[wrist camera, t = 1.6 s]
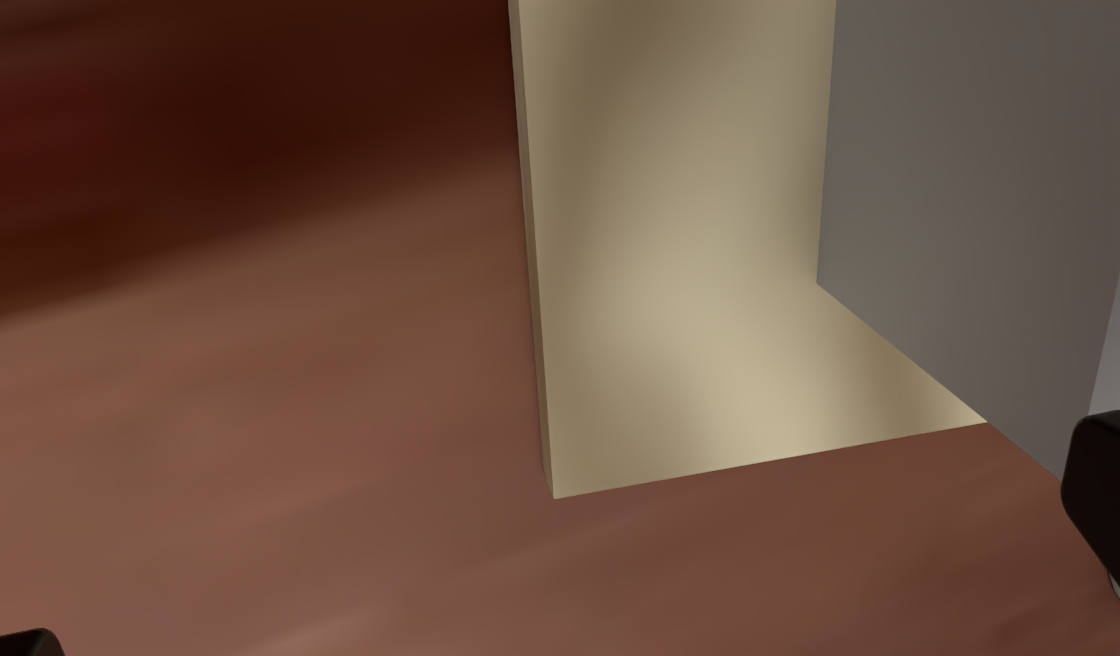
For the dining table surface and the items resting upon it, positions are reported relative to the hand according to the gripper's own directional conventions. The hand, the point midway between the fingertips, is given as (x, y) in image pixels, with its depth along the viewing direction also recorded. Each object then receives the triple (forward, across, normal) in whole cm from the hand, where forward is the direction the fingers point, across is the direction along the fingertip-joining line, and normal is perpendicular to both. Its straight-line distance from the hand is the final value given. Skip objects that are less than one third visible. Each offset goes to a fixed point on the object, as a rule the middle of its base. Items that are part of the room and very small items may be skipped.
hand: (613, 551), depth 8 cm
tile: (+11, -8, 0) cm, 14 cm away
